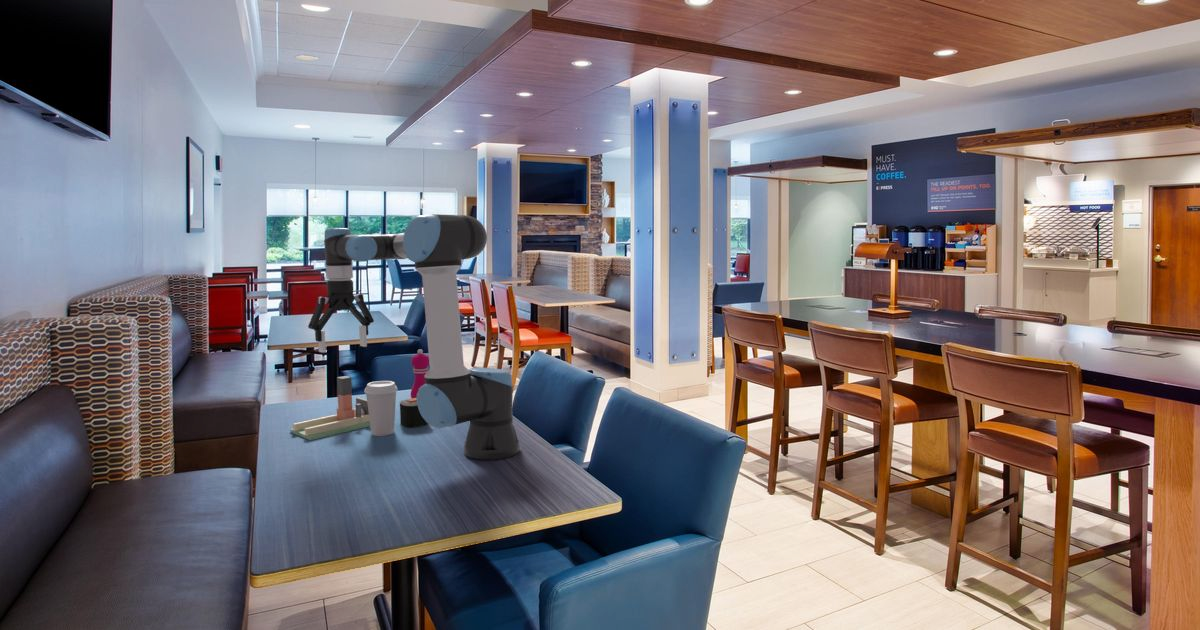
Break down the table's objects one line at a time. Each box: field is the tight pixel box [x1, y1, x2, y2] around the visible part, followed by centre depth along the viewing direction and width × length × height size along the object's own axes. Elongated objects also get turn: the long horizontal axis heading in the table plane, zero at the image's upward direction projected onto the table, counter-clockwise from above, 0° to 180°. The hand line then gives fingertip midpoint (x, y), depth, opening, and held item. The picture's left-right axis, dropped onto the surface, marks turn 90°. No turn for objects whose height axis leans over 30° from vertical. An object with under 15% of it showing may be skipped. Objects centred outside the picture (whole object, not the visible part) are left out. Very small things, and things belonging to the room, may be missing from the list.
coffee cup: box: [363, 380, 399, 437], centre depth 213 cm, size 10×10×15 cm
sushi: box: [399, 397, 429, 429], centre depth 223 cm, size 8×8×8 cm
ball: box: [353, 407, 364, 417], centre depth 224 cm, size 4×4×4 cm
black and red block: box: [336, 375, 354, 421], centre depth 220 cm, size 5×3×14 cm, turn 49°
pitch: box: [289, 397, 370, 441], centre depth 218 cm, size 12×22×7 cm, turn 139°
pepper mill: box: [410, 348, 430, 399], centre depth 243 cm, size 7×7×20 cm
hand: (343, 349), depth 218 cm, fingers open, 13 cm apart
